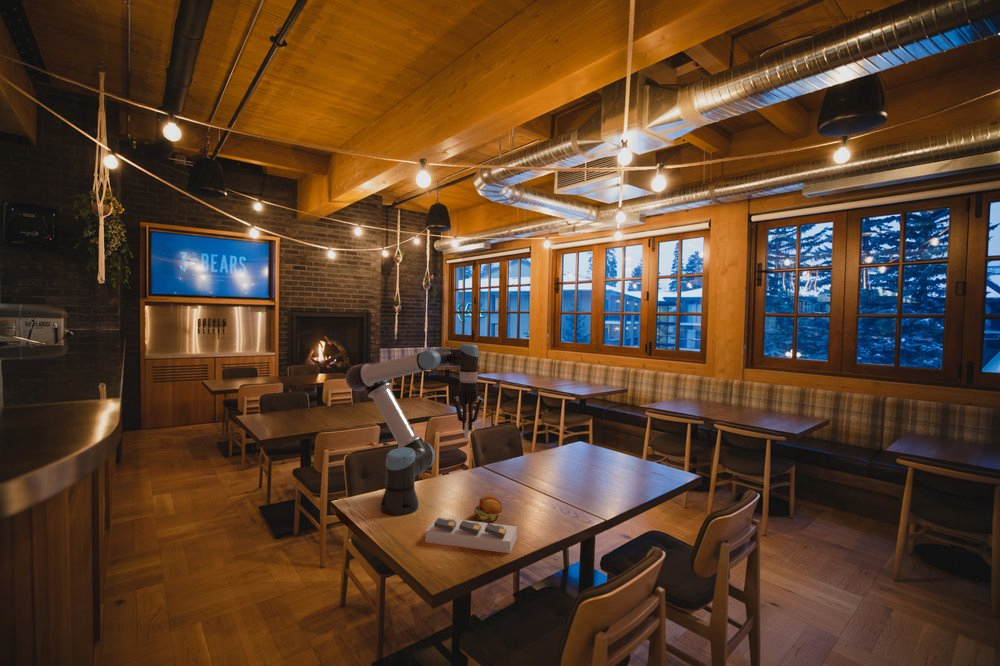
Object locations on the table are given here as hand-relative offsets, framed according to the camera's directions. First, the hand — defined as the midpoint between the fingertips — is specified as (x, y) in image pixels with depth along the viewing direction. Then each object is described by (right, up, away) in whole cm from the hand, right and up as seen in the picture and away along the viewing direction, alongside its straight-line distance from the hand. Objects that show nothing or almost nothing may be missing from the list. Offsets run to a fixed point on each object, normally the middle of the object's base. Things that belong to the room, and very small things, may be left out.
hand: (467, 438), depth 196 cm
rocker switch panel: (+4, -29, -30) cm, 42 cm away
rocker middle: (+3, -24, -33) cm, 41 cm away
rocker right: (+12, -25, -35) cm, 44 cm away
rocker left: (-6, -24, -31) cm, 40 cm away
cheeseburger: (+9, -29, -11) cm, 33 cm away
